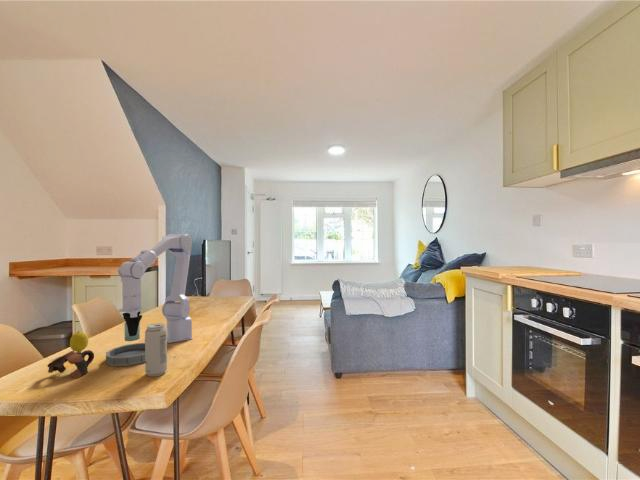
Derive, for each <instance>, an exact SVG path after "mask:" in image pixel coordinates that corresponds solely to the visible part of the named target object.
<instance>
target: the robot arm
mask: <svg viewBox="0 0 640 480" xmlns="http://www.w3.org/2000/svg"><path fill="white" fill-rule="evenodd" d="M192 245H193V240H192V238H191V236H190V234H188V233H183V234H182V233H181V234H179V233H178V234H175V233H174V234H170V233H168V234H166V235H164V236H162V237H161V240H160V241H159V242H158V243H156V244H155V245H154V246H153V247H152V248H151V249H142V250H141V251H140V253H139V254H137V255H136V256H134V257H132V258H130V260H129V261H124V262H122V264H120V265H119V268H118V270H117V274H118V276H119V277H120V282H121V284H122V285H121V287H122V294H121V295H122V308H118V312H119V313H120V312H121V313H122V312H123V313H122V314H121V315H122V318H123V320H124V321H125V322H126V324H127V327H128V333H129V336H136V335H137V331H138V326H139V323H140V322H141V320H142V319H143V315H142V314H141V311H142V309H143V308H142V307H143V306H142V277H143V276H144V275H145V273H146V271H147V269H149V268H150V267H151V266H152V265H153V264H154V263H155V262H157V257H158V256H159V257H160V255H162V254H163V253H165V252H167V251H169V252H170V253H171V254H172V255H174V256H175V258H176V259H175V263H174V264H175V265H174V271H173V279H172V285H171V292H170V294H169V295H168V296H167V297H165V298H164V299H165V301H164V303H163V306H162V307H161V313H162V315H163V317H164V318H165V319H166V330H167V344H171V343H178V342H182V341H189V340H193V331H192V329H193V325H192V324H193V323H192V318H191V316H189V314H190V312H191V307H190V299H189V297H187V296H186V286H187V282H188V273H189V267H190V259H191V253H192V252H191V251H192Z"/></svg>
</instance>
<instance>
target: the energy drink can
mask: <svg viewBox="0 0 640 480" xmlns="http://www.w3.org/2000/svg"><path fill="white" fill-rule="evenodd" d="M144 343H145V362H144V365H145V367H144V369H145V370H144V372H145V373H146V374H147V375H146V376H147V377H150V378H153V377H159V376H163V375H164V374H165V373H166V371H167V369H168V353H167V352H168V351H167V350H168V349H167V348H168V345H167V344H168V343H167V327H165V324H164V323H160V322H159V323H153V324H152V323H151V324H148V325H147V326H146V330H145V331H144Z"/></svg>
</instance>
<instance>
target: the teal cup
mask: <svg viewBox="0 0 640 480" xmlns="http://www.w3.org/2000/svg"><path fill="white" fill-rule="evenodd" d="M140 324H141V323H140V322H139V326H138V331H137V335H136V336H129V333H128V327H127V324H126V321H125V322H124V342H134V341H138V340H139V339H140V334H141V333H140V329H141V328H140Z"/></svg>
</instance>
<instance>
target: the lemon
mask: <svg viewBox="0 0 640 480" xmlns="http://www.w3.org/2000/svg"><path fill="white" fill-rule="evenodd" d="M88 344H89V337H88V335H87V333H85V332H83V331H80V330H79V331H77V332H75V333H73V334H72V335H71V337H70V339H69V347H70V349H71V351H74V352H77V354H80V353H82V351H83V350H84V351H85V349H86V348H87V347H88Z"/></svg>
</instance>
